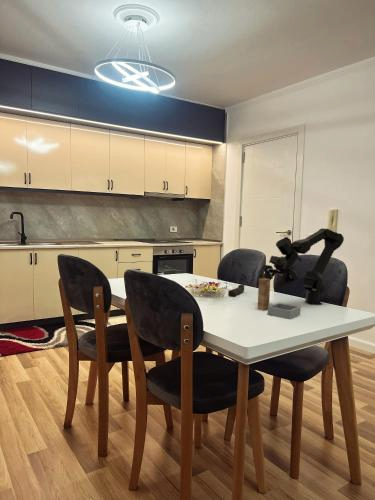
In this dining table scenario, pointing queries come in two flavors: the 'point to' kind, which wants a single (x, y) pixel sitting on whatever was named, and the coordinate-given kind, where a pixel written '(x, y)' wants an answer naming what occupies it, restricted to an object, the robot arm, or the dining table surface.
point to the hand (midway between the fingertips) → (269, 286)
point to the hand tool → (236, 291)
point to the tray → (284, 310)
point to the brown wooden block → (263, 293)
